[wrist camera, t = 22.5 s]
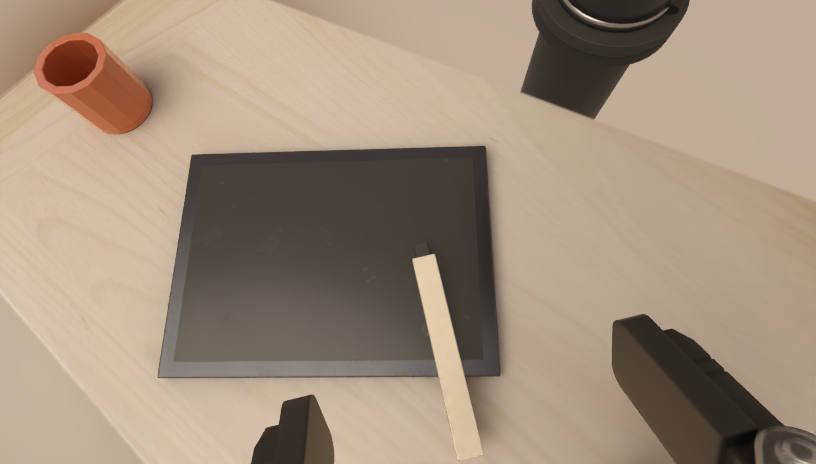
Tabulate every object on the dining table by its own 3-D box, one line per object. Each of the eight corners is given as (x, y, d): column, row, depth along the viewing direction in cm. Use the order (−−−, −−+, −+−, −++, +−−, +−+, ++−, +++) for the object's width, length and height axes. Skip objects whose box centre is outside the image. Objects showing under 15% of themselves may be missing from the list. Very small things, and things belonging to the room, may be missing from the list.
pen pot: (157, 79, 37) (111, 31, 32) (146, 133, 35) (97, 92, 30) (98, 81, 37) (43, 34, 32) (86, 135, 36) (26, 94, 30)
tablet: (484, 151, 33) (485, 144, 32) (498, 376, 29) (500, 376, 28) (197, 160, 34) (190, 153, 33) (165, 377, 30) (155, 378, 29)
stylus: (431, 238, 29) (484, 455, 25) (431, 244, 30) (481, 450, 26) (408, 243, 29) (458, 461, 25) (409, 249, 30) (456, 456, 26)
